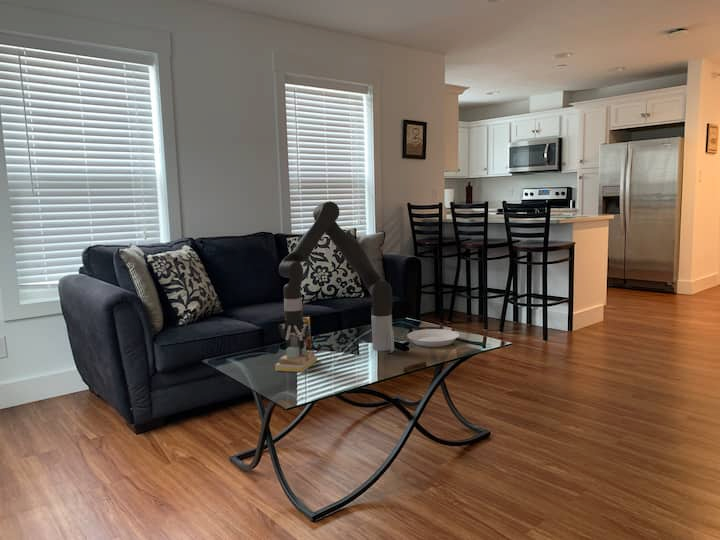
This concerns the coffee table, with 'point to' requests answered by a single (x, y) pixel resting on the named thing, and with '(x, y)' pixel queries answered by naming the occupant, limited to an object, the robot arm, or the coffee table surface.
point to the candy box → (308, 340)
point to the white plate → (433, 337)
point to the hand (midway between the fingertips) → (295, 348)
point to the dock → (296, 366)
